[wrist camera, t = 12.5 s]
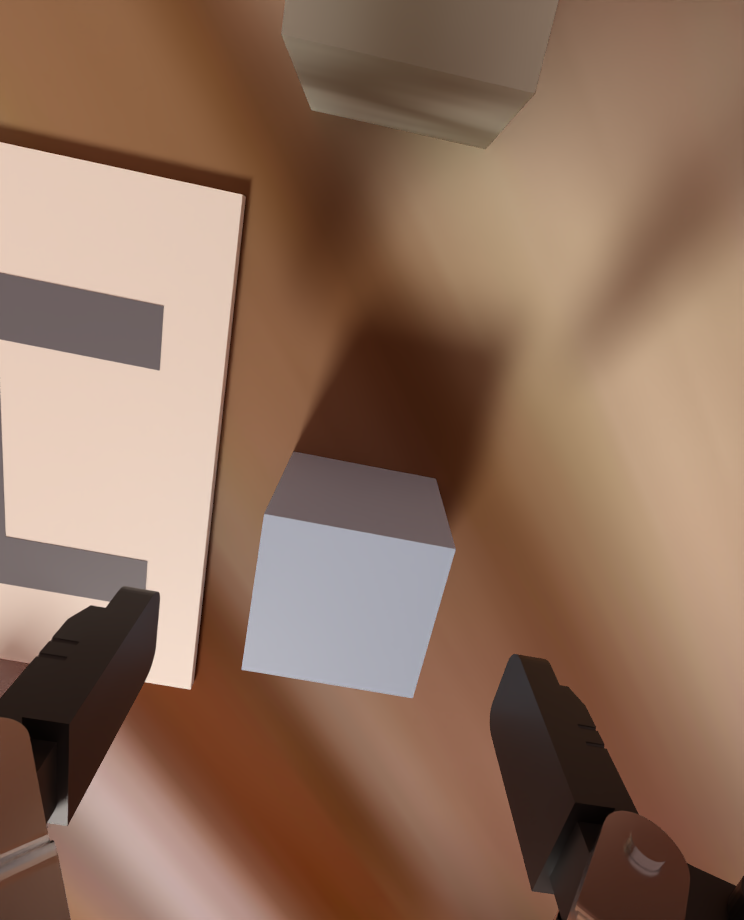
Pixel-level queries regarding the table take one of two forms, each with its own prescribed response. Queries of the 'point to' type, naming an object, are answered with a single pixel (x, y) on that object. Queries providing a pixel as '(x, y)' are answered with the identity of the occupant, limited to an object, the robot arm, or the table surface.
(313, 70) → the block
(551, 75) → the table surface
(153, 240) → the letter sheet
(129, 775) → the table surface
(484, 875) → the table surface
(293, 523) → the blue cube
